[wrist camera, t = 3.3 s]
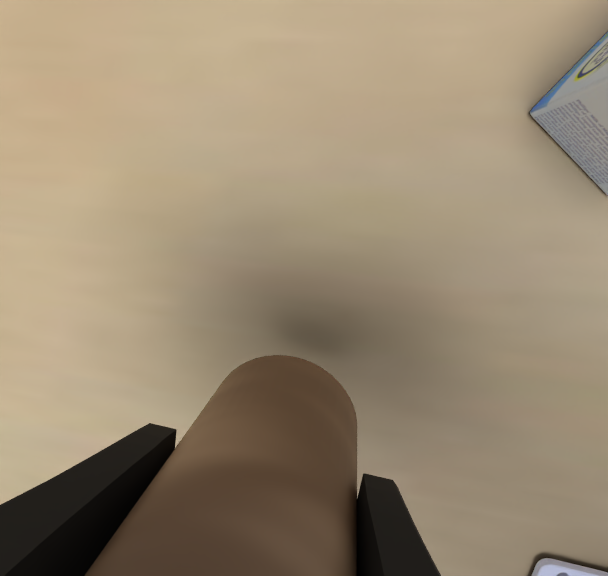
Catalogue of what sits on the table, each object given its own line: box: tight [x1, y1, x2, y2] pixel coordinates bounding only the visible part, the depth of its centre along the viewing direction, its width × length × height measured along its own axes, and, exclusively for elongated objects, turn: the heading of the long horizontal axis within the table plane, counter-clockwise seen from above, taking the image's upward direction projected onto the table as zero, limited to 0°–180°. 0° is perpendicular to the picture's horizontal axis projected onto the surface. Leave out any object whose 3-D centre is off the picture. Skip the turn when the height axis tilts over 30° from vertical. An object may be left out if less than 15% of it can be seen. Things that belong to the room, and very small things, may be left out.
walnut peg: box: [84, 355, 357, 576], centre depth 7 cm, size 4×4×8 cm
